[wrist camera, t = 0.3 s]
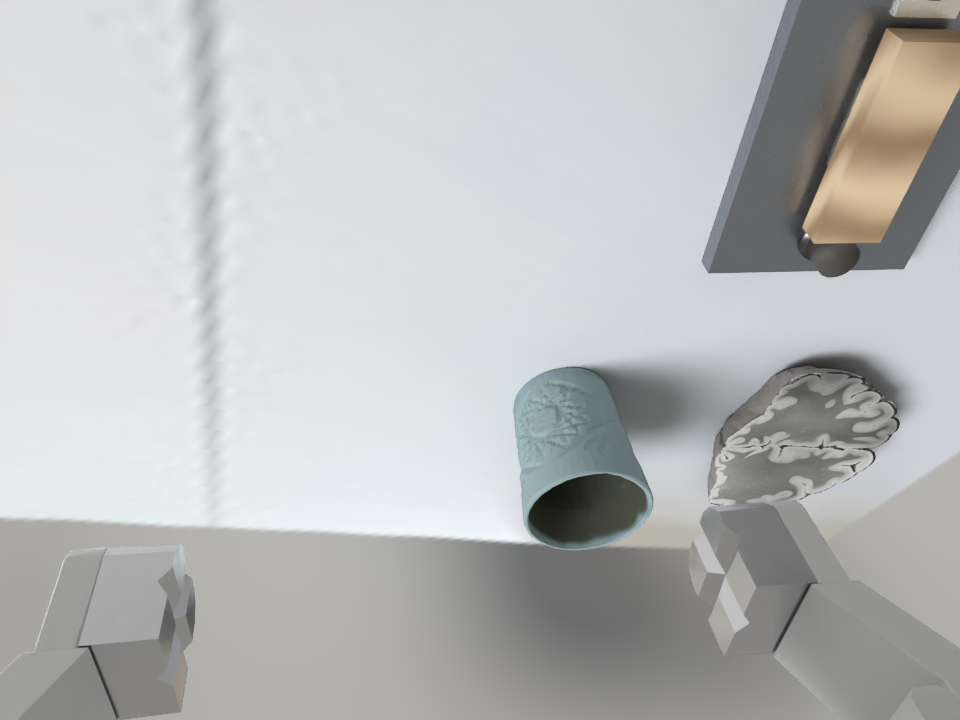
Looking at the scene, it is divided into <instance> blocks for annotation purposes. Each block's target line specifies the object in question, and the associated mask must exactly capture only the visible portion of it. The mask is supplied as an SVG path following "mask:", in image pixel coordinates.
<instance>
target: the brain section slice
mask: <svg viewBox="0 0 960 720" xmlns="http://www.w3.org/2000/svg"><path fill="white" fill-rule="evenodd" d="M883 397H884V396H883V394H882V392H880V391H879V390H877V389H875V388H874V387H873V386H872V385H870V384H869V383H867V382H866V381H865V378H863V377H861V376H859V375H858V374H854V373H850V372H847V371H843V370H835V369H824V368H821V369H818V368H817V367H814V366H803V367H797V368H791V369H787V370H785V371H783V372H781V373H778V374H776V375H774V376H772V377H771V378H770V379H769V380H768V381H767V382H766V384H765V385H764V386H763V387H762V388H761V389H760V390H759V391H758V392H757V393H755V394H754V395H753V396H752V397H751V398H750V399H749V400H748V401H747V402H746V403H745V404H743V405H742V406H741V407H740V408H739V409H738V410H737V411H736V412H735V413H734V414H733V415H732V416H731V417H730V418H729V419H728V420H727V422H726V423H725V425H724V427H723V429H722V430H721V432H720V433H719V434H718V436H717V437H716V439H715V441H714V450H713V459H712V462H711V470H710V473H709V476H708V498H709V502H710V503H711V504H715V505H718V506H725V505H737V504H750V503H762V502H763V503H770V502H785V501H796V500H800V499H803V498H804V497H807V496H808V495H810V494H815V493H819V492H822V491H824V490H826V489H829V488H830V487H832V486H834V485H836V484H839V483H843V482H845V481H847V480H849V479H850V478H852V477H853V476H855V475H856V474H857V473H858V472H860V471H863V470H864V469H866V468H867V467H868V466H870V465H871V464H872V463H873V462H874V460H875V457H876V456H875V452H873V451H872V450H870V449H868V448H873V447H876V446H879V445H881V444H883V443H885V442H886V441H887V440H889V438H890V437H891V435H892V434H893V433H894V432H896V431H897V429H898V428H899V425H900V422H899V420H898V419H897V418H896V417H894V415H895V414H896V413H897V408H896V406H895V405H894V404H893V403H892V402H891V401H887V400H883Z"/></svg>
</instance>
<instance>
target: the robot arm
mask: <svg viewBox="0 0 960 720" xmlns="http://www.w3.org/2000/svg"><path fill="white" fill-rule="evenodd" d="M700 524H701V526H702V528H703V531H704V532H703V533H702V534H700V535H699V536H698V537H697V538H695V539H694V540H693V542H692V546H691V549H690V552H689V572H690V576H691V580H692V584H693V586H694V589H695V591H696V594H697V596H698V597H699V598H700V599H701V600H702V601H704V602H705V603H706V604H708V605H709V606H710V607H711V608H712V610H711V613H710V617H709V620H708V622H709V624H710V626H711V628H712V631H713V633H714V635H715V637H716V640H717V642H718V644H719V647H720V649H721V651H722V653H723V656H724V657H733V656H747V655H760V654H774V657H775V658H776V659H777V660H778V661H779V662H780V663H781V664H782V665H783V666H784V667H785V668H786V669H787V670H788V671H789V672H791V673H792V674H793V675H794V676H795V677H796V678H797V679H798V680H799V681H800V682H801V683H802V684H803V685H804V686H805V687H807V689H809V690H810V691H811V692H812V693H813V694H814V695H815V696H816V697H817V698H818V699H819V700H820V701H821V702H822V703H823V704H824V705H825V706H827V707H828V708H829V709H830V710H831V711H832V712H833V713H834V714H835V715H836V716H837V717H838V718H839V719H840V720H960V648H959V647H957V646H956V645H954V644H953V643H951V642H950V641H948V640H947V639H945V638H944V637H942V636H941V635H939V634H938V633H936V632H935V631H933V630H932V629H930V628H929V627H927V626H926V625H924V624H923V623H921V622H920V621H918V620H917V619H916V618H914V617H913V616H911V615H910V614H908V613H907V612H905V611H904V610H902V609H901V608H899V607H898V606H896V605H895V604H893V603H892V602H890V601H889V600H887V599H886V598H884V597H883V596H881V595H880V594H878V593H877V592H875V591H874V590H873V589H871V588H870V587H868V586H867V585H865V584H864V583H862V582H861V581H859V580H858V581H857V580H855V581H850V579H849V578H848V576H847V574H846V573H845V571H844V570H843V568H842V567H841V565H840V563H839V562H838V561H837V559H836V557H835V555H834V554H833V552H832V551H831V549H830V548H829V546H828V544H827V543H826V541H825V540H824V538H823V536H822V535H821V533H820V532H819V530H818V528H817V527H816V525H815V524H814V522H813V521H812V519H811V517H810V516H809V514H808V513H807V511H806V510H805V508H804V507H803V505H802V504H800V503H799V502H797V501H785V502H770V503H763V502H762V503H750V504H737V505H725V506H713V507H709V508H707V509H706V510H705V511H704V512H703V515H702V517H701V520H700ZM186 562H187V557H186V554H185V550H184V547H183V544H169V545H146V546H126V547H125V546H123V547H105V548H86V549H72V550H70V552H69V553H68V555H67V556H66V557H65V559H64V560H63V563H62V566H61V569H60V572H59V575H58V578H57V581H56V584H55V587H54V591H53V593H52V596H51V599H50V602H49V605H48V609H47V611H46V614H45V618H44V621H43V624H42V627H41V630H40V633H39V636H38V639H37V642H36V645H35V648H34V651H33V652H25V653H21V654H20V655H19V656H18V657H17V658H16V659H15V660H14V661H13V662H12V663H11V664H10V665H9V666H7V667H6V669H4V670H3V671H2V672H1V673H0V720H122V719H131V718H138V717H146V716H154V715H161V714H170V713H178V712H181V708H182V702H183V696H184V690H185V684H186V678H187V671H188V668H187V664H186V660H185V656H184V652H183V651H184V650H185V649H186V647H187V646H188V645H189V644H190V643H191V642H192V639H193V632H194V624H195V594H194V586H193V582H192V578H191V577H189V576H188V575H186V574H185V567H186Z"/></svg>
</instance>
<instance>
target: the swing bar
mask: <svg viewBox="0 0 960 720" xmlns="http://www.w3.org/2000/svg"><path fill="white" fill-rule="evenodd" d="M959 88H960V30H947V29H908V28H886V30H885V32H884V35H883V37H882V40H881V42H880V44H879V47H878V49H877V51H876V54H875V56H874V58H873V61H872V63H871V66H870V68H869V70H868V73H867V75H866V77H865V80H864V82H863V84H862V87H861V89H860V92H859V94H858V96H857V99H856V101H855V103H854V106H853V108H852V110H851V113H850V115H849V118H848V120H847V122H846V125H845V127H844V129H843V132H842V134H841V136H840V139H839V141H838V144H837V146H836V148H835V151H834V153H833V155H832V158H831V160H830V162H829V165H828V167H827V170H826V172H825V174H824V177H823V179H822V181H821V184H820V186H819V188H818V191H817V193H816V196H815V198H814V200H813V203H812V205H811V207H810V210H809V212H808V214H807V217H806V219H805V222H804V224H803V226H802V228H803V229H804V231H805V232H806V233H807V235H808V236H809V237H810V239H811V240H810V241H809V243H808V245H807V248H806V253H807V255H808V257H809V258H810V260H811V261H812V263H813V264H814V265H815V267H816V268H817V270H818V271H819V272H820V274H821V275H823V276H825V277H837V276H840V275H843V274H845V273H847V272H848V271H850V270H851V269H852V268H853V267H854V266H855V265H856V264H857V262H858V260H859V258H860V249H859V248H858V246H857V245H856V244H855V243H880V242H881V240H882V238H883V237H884V235H885V233H886V231H887V229H888V227H889V225H890V223H891V221H892V219H893V217H894V215H895V213H896V211H897V209H898V207H899V205H900V203H901V201H902V200H903V198H904V196H905V194H906V192H907V190H908V188H909V186H910V184H911V182H912V180H913V178H914V176H915V174H916V172H917V170H918V168H919V166H920V164H921V162H922V161H923V159H924V157H925V155H926V153H927V151H928V149H929V147H930V145H931V143H932V141H933V139H934V137H935V135H936V133H937V131H938V129H939V127H940V125H941V124H942V122H943V120H944V118H945V116H946V114H947V112H948V110H949V108H950V106H951V104H952V102H953V100H954V98H955V96H956V94H957V92H958V90H959Z"/></svg>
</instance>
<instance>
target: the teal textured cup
mask: <svg viewBox="0 0 960 720" xmlns="http://www.w3.org/2000/svg"><path fill="white" fill-rule="evenodd" d="M514 421H515V432H516V438H517V447H518V457H519V462H520V466H521V469H522V471H521V475H520V480H521V488H522V507H523V520H524V525H525V527H526V530H527V531H528V533H529V534H530V535H531V536H532V537H533V538H534V539H536V540H537V541H539V542H540V543H542V544H544V545H547V546H550V547H552V548H557V549H563V550H585V549H593V548H597V547H601V546H605V545H609V544H611V543H614V542H616V541H619V540H621V539H623V538H624V537H626V536H628V535H630V534H631V533H633V532H634V531H635V530H637V529H638V528H639V527H640V526H641V525H642V524H643V523H644V522H645V521H646V520H647V518H648V517H649V515H650V513H651V511H652V507H653V496H652V493H651V490H650V488H649V485H648V483H647V480H646V478H645V475H644V473H643V471H642V468H641V466H640V464H639V462H638V461H637V459H636V457H635V455H634V453H633V450H632V447H631V444H630V442H629V439H628V437H627V432H626V430H625V428H624V427H623V425H622V424H621V419H620V417H619V414H618V411H617V408H616V405H615V402H614V400H613V397H612V395H611V392H610V390H609V388H608V386H607V384H606V382H605V381H604V380H603V379H602V378H601V377H600V376H598V375H597V374H596V373H594V372H592V371H589V370H586V369H582V368H574V367H571V368H559V369H554V370H550V371H547V372H545V373H542V374H540V375H538V376H536V377H535V378H533V379H532V380H530V381H529V382H528V383H526V384H525V385H524V386H523V388H522V389H521V390H520V391H519V393H518V394H517V396H516V399H515V402H514Z"/></svg>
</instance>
